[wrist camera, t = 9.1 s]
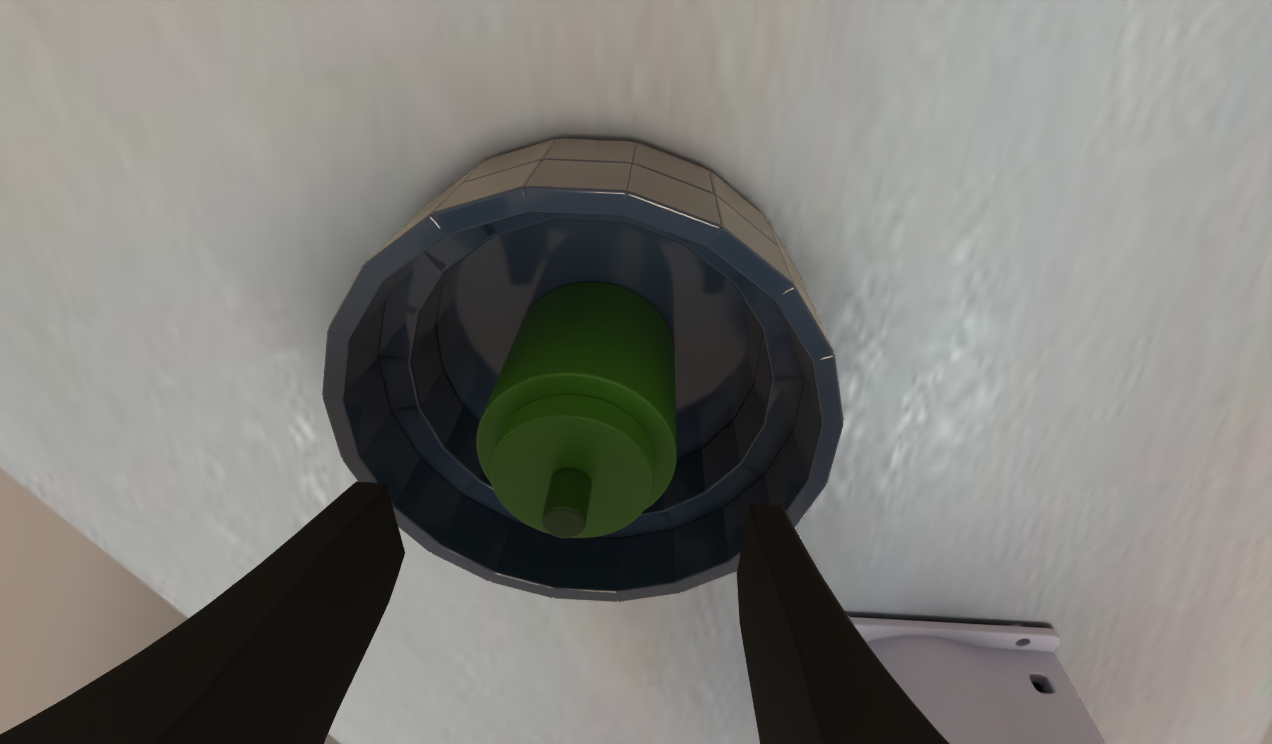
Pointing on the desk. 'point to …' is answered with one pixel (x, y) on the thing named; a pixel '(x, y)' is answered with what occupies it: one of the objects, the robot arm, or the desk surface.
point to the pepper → (583, 413)
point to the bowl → (488, 323)
